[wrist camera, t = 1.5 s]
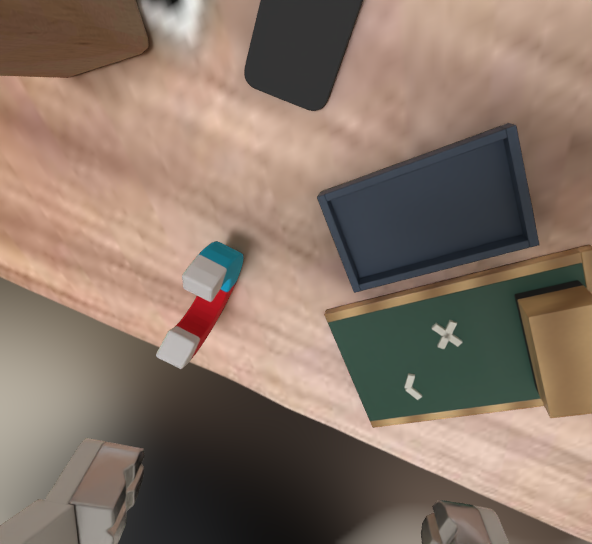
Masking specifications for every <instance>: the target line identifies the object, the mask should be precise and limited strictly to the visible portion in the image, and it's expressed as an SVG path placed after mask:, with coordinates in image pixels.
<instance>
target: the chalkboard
mask: <svg viewBox="0 0 592 544" xmlns="http://www.w3.org/2000/svg"><path fill="white" fill-rule="evenodd" d="M576 280H579V281H580V282H581V283H582V285H584V286H585V287H586V288H587V289H588V290H589V291H590V292H591V294H592V247H591V246H590V245H587V246H583V247H579V248H574V249H570V250H566V251H562V252H558V253H554V254H550V255H546V256H542V257H538V258H534V259H530V260H526V261H522V262H518V263H514V264H510V265H506V266H502V267H498V268H494V269H490V270H486V271H482V272H478V273H474V274H469V275H465V276H461V277H457V278H453V279H449V280H445V281H441V282H437V283H433V284H429V285H425V286H421V287H417V288H413V289H409V290H405V291H401V292H397V293H393V294H389V295H385V296H381V297H377V298H373V299H369V300H365V301H361V302H357V303H353V304H348V305H344V306H340V307H336V308H332V309H328V310H326V311H325V317H326V320H327V322H328V324H329V327H330V329H331V331H332V334H333V336H334V338H335V341H336V343H337V345H338V348H339V350H340V352H341V355H342V357H343V359H344V362H345V364H346V366H347V369H348V371H349V373H350V376H351V378H352V380H353V383H354V385H355V387H356V390H357V392H358V394H359V397H360V399H361V401H362V404H363V406H364V408H365V411H366V413H367V415H368V418H369V420H370V422H371V425H372V427H373V428H374V427H382V426H390V425H398V424H406V423H413V422H421V421H429V420H437V419H445V418H453V417H461V416H469V415H477V414H485V413H492V412H500V411H508V410H516V409H524V408H532V407H540V406H544V404H543V402H542V400H541V398H540V396H539V394H538V392H537V390H536V387H535V383H534V379H533V374H532V370H531V365H530V361H529V357H528V352H527V348H526V344H525V339H524V335H523V331H522V326H521V322H520V318H519V313H518V309H517V304H516V300H515V296H514V294H518V293H522V292H527V291H531V290H536V289H540V288H545V287H549V286H554V285H558V284H563V283H567V282H572V281H576ZM449 320H453V321H456V322H457V325H456V327H455V329H454V331H453V333H452V334H454V335H455V336H457V337H458V338H459V339H461V340H462V342H463V343H461V344H460V345H459V346H458V347H457V346H456V345H454V344H453V343H451V342H450V341H448V343H447V345H446V347H445V349H442V348H439V347H437V344H438V342H439V340H440V338H441V335H440V334H438V333H437V332H435V331H434V330H432V328H431V327H432V326H433V325H434V324H435V323H438V324H439V325H440V326H442V327H443V328H446V326H447V324H448V322H449ZM408 373H411V374H415V379H414V382H413V384H412V387H413V388H414V389H416V390H417V391H418V392H420V393H421V394H422V397H421V398H420V399H418V400H417V399H416V398H414V397H413V396H412V395H411V394H409V393H408V392H407V391H406V390H405V388H404V385H405V382H406V379H407V376H408Z"/></svg>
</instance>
